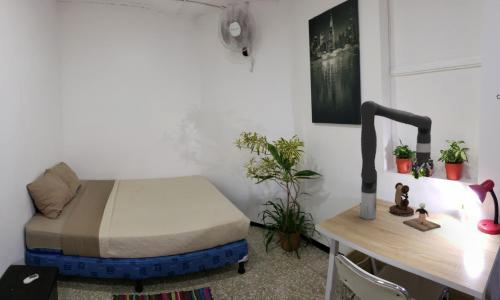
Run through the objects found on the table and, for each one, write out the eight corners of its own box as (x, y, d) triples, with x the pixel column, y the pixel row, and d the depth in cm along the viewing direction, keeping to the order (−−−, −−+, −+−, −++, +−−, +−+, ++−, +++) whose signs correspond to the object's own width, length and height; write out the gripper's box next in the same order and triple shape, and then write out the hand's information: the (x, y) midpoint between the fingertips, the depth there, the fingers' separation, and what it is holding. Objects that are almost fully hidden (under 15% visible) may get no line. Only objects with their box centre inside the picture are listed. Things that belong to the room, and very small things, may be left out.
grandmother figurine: (429, 223, 177) (430, 203, 175) (428, 225, 175) (429, 204, 173) (415, 220, 182) (415, 200, 180) (413, 222, 179) (414, 202, 177)
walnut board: (422, 231, 169) (423, 229, 169) (402, 223, 182) (402, 221, 182) (440, 227, 174) (440, 225, 174) (419, 219, 187) (419, 217, 187)
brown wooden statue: (384, 209, 205) (385, 181, 202) (404, 208, 207) (405, 180, 204) (397, 217, 191) (398, 187, 188) (419, 215, 192) (420, 186, 189)
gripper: (426, 148, 178) (425, 175, 181) (408, 151, 174) (407, 177, 176) (438, 150, 171) (436, 177, 174) (419, 152, 167) (418, 180, 169)
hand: (421, 177), depth 175 cm, fingers open, 8 cm apart
